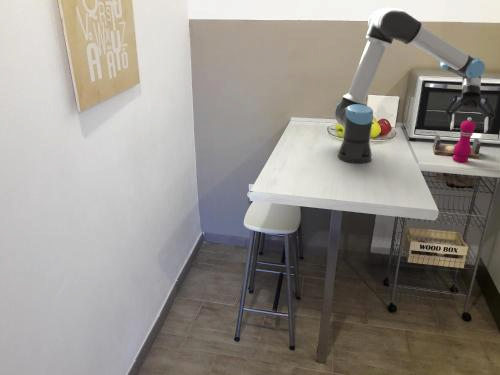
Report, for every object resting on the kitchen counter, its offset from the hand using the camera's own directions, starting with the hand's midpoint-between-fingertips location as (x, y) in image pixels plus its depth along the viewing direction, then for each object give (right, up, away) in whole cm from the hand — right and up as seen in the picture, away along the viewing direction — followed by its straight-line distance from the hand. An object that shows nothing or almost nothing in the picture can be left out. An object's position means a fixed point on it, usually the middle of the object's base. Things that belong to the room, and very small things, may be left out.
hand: (468, 129), depth 177 cm
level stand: (+2, -9, +16) cm, 18 cm away
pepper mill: (-1, -13, +6) cm, 15 cm away
